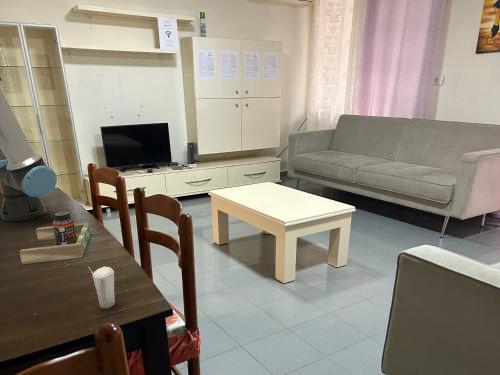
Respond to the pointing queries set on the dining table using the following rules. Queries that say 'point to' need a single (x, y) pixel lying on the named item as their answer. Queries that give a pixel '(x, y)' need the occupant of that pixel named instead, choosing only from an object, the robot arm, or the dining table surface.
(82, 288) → the dining table surface
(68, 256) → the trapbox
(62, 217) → the supplement bottle
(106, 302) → the milkshake
